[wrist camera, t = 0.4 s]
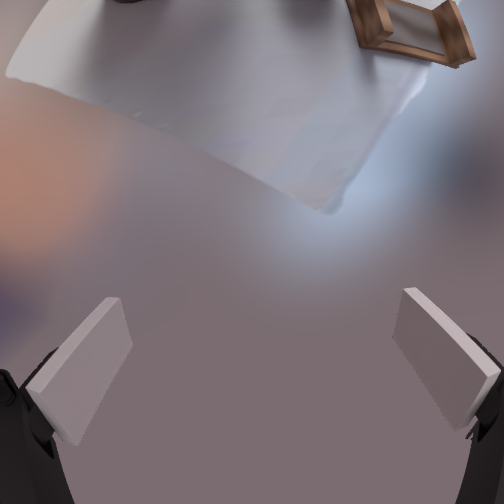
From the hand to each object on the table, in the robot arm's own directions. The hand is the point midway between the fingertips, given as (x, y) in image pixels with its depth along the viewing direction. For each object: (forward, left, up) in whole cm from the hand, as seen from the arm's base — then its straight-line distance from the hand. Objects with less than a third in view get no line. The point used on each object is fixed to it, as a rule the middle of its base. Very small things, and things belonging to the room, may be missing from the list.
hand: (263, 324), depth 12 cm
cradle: (-31, +28, -27) cm, 50 cm away
